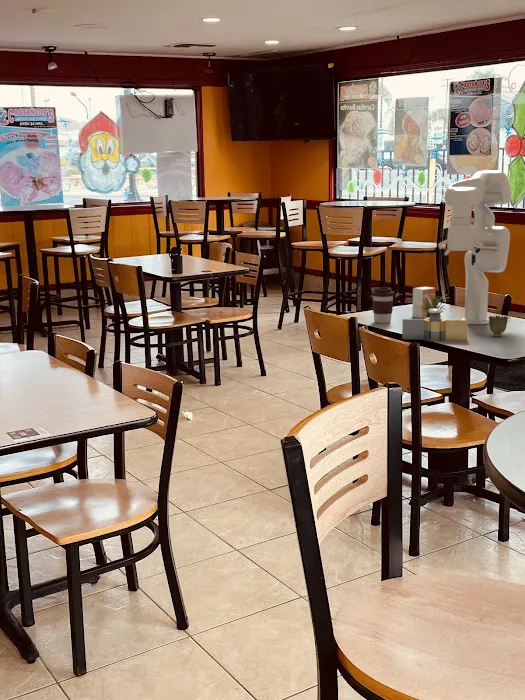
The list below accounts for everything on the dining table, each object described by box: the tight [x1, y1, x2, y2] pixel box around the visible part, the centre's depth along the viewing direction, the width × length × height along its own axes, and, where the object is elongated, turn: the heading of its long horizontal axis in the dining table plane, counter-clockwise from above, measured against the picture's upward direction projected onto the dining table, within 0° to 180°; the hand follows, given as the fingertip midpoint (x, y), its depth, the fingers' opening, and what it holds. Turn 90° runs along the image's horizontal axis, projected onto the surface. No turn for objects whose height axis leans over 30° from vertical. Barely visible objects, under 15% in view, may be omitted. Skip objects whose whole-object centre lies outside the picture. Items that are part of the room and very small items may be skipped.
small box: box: [412, 286, 436, 319], centre depth 390 cm, size 8×6×13 cm
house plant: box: [419, 293, 451, 319], centre depth 358 cm, size 14×14×16 cm
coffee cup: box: [371, 286, 395, 324], centre depth 378 cm, size 10×10×15 cm
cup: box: [488, 315, 509, 338], centre depth 346 cm, size 8×7×8 cm
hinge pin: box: [429, 308, 443, 321], centre depth 342 cm, size 5×5×12 cm
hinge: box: [401, 317, 469, 343], centre depth 342 cm, size 8×25×8 cm, turn 81°
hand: (460, 264), depth 342 cm, fingers open, 9 cm apart
